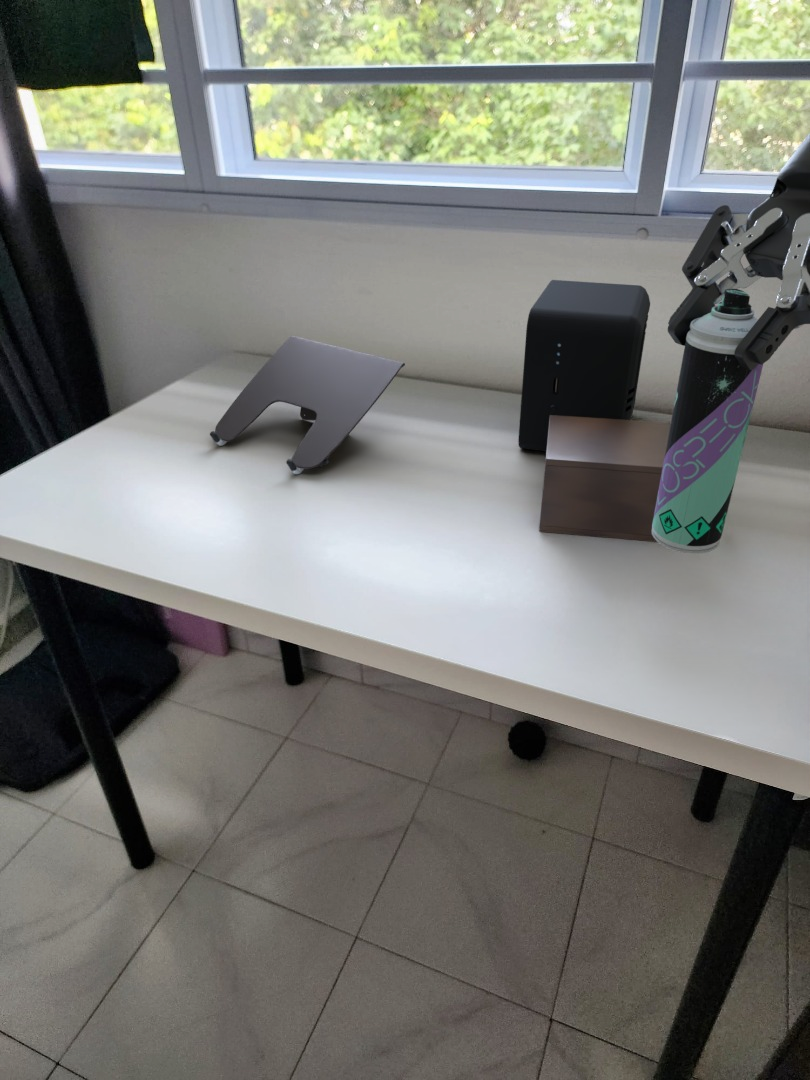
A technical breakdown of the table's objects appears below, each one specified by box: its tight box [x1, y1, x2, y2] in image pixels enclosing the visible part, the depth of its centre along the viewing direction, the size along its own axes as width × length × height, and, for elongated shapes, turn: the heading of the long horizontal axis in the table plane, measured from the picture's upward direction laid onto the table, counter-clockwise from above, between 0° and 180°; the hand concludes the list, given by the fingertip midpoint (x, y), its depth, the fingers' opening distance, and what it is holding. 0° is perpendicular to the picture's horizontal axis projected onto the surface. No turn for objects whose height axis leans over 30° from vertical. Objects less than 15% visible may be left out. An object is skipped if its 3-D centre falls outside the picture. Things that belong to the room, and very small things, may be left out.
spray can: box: [652, 288, 764, 554], centre depth 57 cm, size 6×6×20 cm
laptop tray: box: [209, 335, 406, 475], centre depth 112 cm, size 23×23×9 cm
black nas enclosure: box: [517, 279, 651, 452], centre depth 107 cm, size 20×15×20 cm
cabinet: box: [538, 415, 671, 543], centre depth 90 cm, size 15×13×10 cm
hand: (708, 349), depth 53 cm, fingers closed on spray can, 5 cm apart
